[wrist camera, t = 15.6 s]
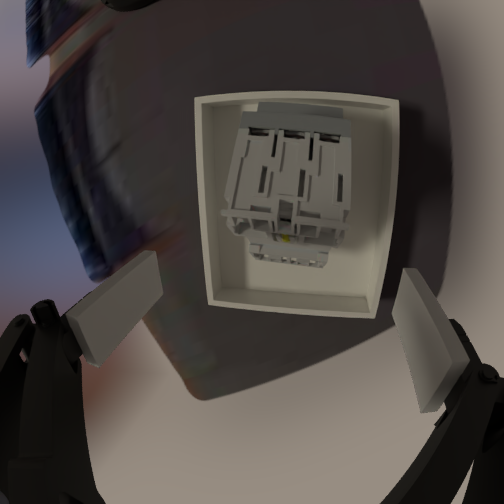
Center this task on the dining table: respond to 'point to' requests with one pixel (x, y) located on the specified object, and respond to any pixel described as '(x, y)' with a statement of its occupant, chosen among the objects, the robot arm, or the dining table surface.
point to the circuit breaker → (290, 182)
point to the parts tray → (359, 219)
